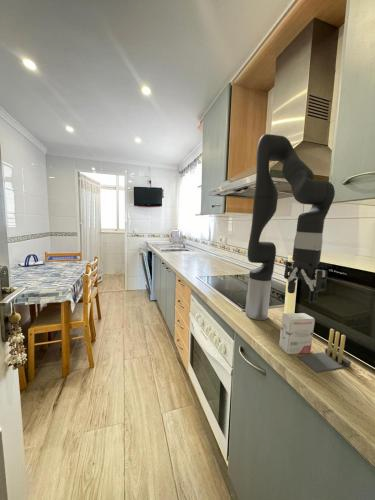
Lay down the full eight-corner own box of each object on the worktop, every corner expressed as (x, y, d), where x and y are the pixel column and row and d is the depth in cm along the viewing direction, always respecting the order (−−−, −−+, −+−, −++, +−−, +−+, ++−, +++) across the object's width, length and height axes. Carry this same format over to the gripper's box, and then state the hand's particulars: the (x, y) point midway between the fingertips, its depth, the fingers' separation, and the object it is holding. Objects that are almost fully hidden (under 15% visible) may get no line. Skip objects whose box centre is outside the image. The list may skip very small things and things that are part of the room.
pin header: (322, 353, 68) (326, 327, 67) (328, 352, 69) (332, 326, 67) (343, 367, 61) (348, 338, 60) (350, 366, 62) (354, 338, 61)
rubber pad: (297, 356, 65) (297, 355, 65) (322, 353, 68) (322, 352, 68) (316, 372, 59) (316, 371, 59) (343, 367, 61) (343, 366, 61)
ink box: (301, 344, 72) (305, 312, 71) (311, 353, 67) (316, 318, 66) (278, 345, 71) (281, 312, 69) (287, 354, 66) (291, 319, 65)
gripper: (281, 244, 71) (276, 290, 73) (317, 250, 57) (309, 307, 59) (299, 244, 73) (294, 289, 75) (338, 250, 59) (330, 305, 61)
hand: (300, 297), depth 67 cm, fingers open, 8 cm apart
